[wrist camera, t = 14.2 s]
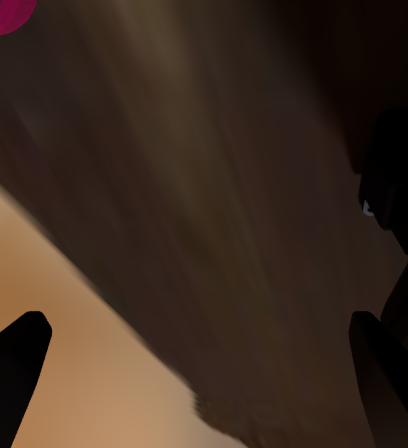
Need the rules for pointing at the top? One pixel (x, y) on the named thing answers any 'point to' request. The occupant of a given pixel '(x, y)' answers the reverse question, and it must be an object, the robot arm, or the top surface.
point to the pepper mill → (14, 14)
